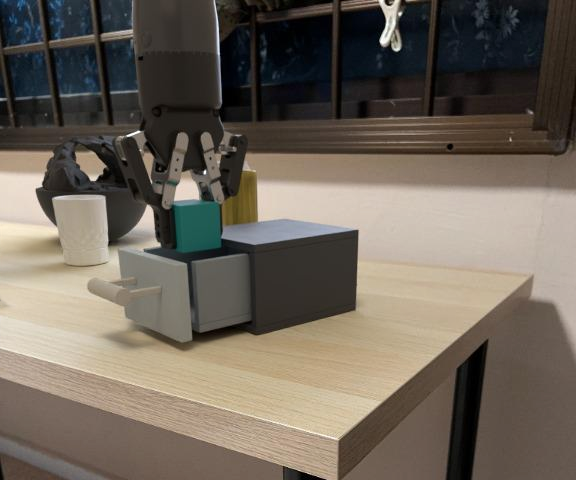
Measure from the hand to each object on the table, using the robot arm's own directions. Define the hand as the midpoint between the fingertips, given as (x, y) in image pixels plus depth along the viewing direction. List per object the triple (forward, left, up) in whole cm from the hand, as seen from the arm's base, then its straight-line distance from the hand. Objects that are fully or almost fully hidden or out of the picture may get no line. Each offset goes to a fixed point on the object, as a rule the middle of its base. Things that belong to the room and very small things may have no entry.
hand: (190, 244), depth 61 cm
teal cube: (0, 0, 0) cm, 0 cm away
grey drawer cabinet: (+10, 0, -9) cm, 14 cm away
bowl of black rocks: (+16, +59, -9) cm, 62 cm away
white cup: (+6, +42, -9) cm, 43 cm away
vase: (+18, +17, -9) cm, 27 cm away
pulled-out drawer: (-1, 0, -8) cm, 8 cm away
